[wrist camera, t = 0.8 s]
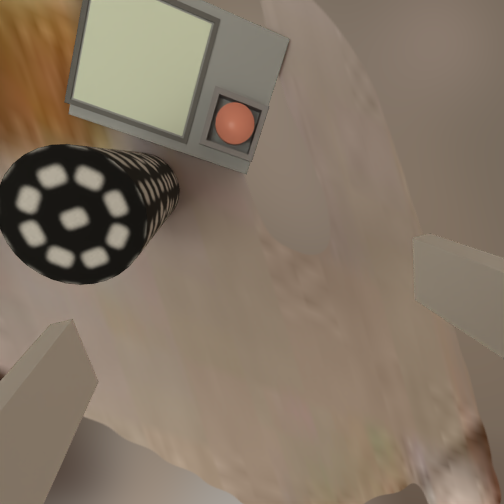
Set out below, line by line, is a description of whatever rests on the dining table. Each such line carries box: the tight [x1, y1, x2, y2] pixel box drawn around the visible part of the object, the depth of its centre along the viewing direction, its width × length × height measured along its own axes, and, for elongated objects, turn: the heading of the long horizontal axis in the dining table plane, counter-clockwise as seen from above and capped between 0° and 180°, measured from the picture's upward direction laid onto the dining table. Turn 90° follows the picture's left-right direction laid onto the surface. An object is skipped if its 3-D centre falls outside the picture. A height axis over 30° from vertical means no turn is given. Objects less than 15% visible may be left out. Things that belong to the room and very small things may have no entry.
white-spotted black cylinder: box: [0, 144, 179, 285], centre depth 28 cm, size 8×8×20 cm
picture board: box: [65, 0, 289, 174], centre depth 34 cm, size 20×15×3 cm
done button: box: [215, 102, 254, 145], centre depth 34 cm, size 4×4×2 cm
